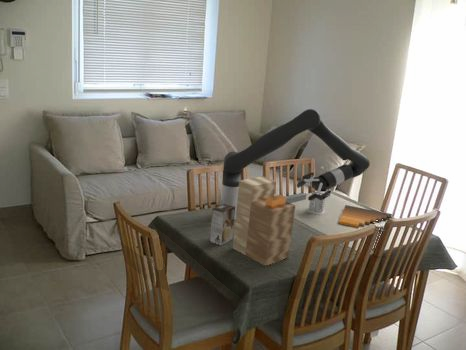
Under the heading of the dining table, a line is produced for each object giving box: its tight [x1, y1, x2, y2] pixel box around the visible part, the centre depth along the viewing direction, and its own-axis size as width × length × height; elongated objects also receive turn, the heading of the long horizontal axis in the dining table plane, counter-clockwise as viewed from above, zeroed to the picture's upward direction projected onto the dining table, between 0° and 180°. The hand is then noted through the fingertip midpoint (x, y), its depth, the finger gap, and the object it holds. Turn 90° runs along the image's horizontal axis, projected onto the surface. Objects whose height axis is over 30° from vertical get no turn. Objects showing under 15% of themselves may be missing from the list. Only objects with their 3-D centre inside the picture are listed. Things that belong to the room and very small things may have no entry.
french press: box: [306, 166, 326, 215], centre depth 275 cm, size 10×12×25 cm
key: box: [266, 192, 307, 209], centre depth 215 cm, size 22×4×4 cm, turn 133°
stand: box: [232, 175, 296, 267], centre depth 218 cm, size 14×20×31 cm
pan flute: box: [338, 204, 393, 228], centre depth 271 cm, size 25×3×25 cm
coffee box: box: [209, 204, 235, 246], centre depth 228 cm, size 9×6×16 cm
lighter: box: [373, 225, 385, 249], centre depth 239 cm, size 8×3×10 cm, turn 117°
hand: (303, 192), depth 228 cm, fingers open, 8 cm apart
